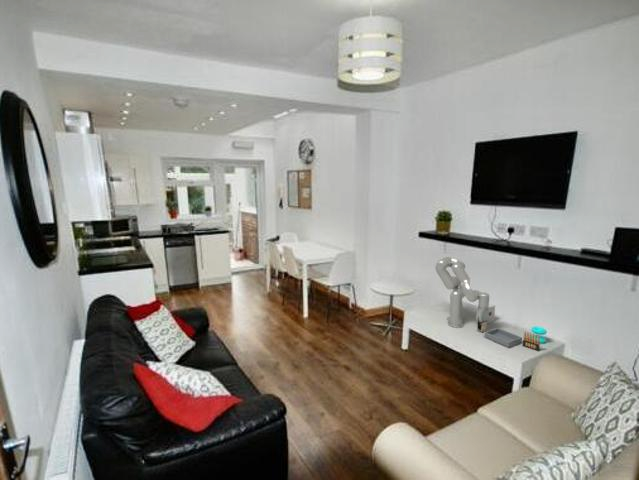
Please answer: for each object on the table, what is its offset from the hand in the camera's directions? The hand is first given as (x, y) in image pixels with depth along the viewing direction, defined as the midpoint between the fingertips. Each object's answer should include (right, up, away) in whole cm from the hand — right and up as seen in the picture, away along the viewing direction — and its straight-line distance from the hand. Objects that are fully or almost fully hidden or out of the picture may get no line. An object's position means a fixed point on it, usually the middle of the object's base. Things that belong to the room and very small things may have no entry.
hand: (481, 328), depth 274 cm
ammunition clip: (+22, -7, -29) cm, 37 cm away
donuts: (+35, -5, -18) cm, 39 cm away
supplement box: (+14, +1, +21) cm, 25 cm away
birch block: (0, -2, 0) cm, 2 cm away
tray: (+9, -5, -16) cm, 19 cm away
